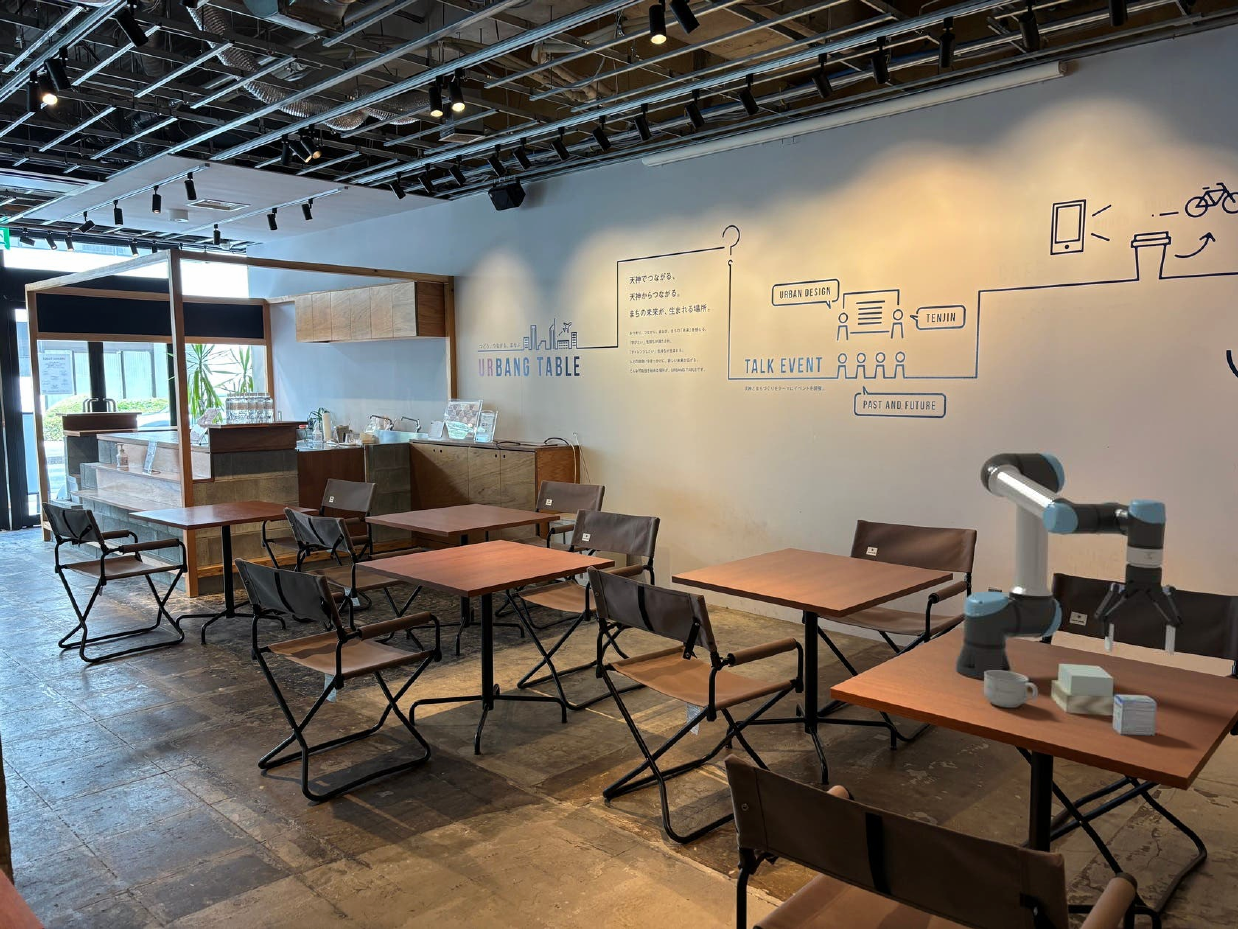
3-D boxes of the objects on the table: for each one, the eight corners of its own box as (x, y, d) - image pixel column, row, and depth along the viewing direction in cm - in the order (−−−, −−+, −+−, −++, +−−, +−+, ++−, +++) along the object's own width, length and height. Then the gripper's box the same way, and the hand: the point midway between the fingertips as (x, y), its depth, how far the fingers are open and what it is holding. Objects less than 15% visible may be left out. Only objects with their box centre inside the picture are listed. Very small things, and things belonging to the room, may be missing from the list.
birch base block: (1065, 714, 225) (1066, 695, 224) (1050, 698, 237) (1051, 680, 236) (1115, 717, 223) (1117, 698, 223) (1098, 701, 235) (1099, 683, 234)
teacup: (973, 700, 233) (975, 670, 233) (1003, 695, 237) (1005, 666, 237) (1015, 718, 220) (1017, 687, 220) (1046, 712, 225) (1048, 682, 224)
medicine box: (1145, 729, 214) (1147, 695, 213) (1154, 736, 210) (1157, 701, 209) (1111, 728, 215) (1113, 693, 214) (1120, 735, 210) (1122, 700, 210)
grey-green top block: (1070, 694, 225) (1071, 675, 225) (1057, 681, 235) (1059, 663, 235) (1112, 697, 223) (1113, 678, 223) (1097, 684, 233) (1099, 666, 233)
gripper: (1094, 565, 207) (1089, 652, 209) (1208, 570, 203) (1202, 659, 205) (1082, 559, 214) (1077, 644, 216) (1193, 564, 211) (1187, 650, 212)
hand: (1138, 651), depth 210 cm, fingers open, 13 cm apart
